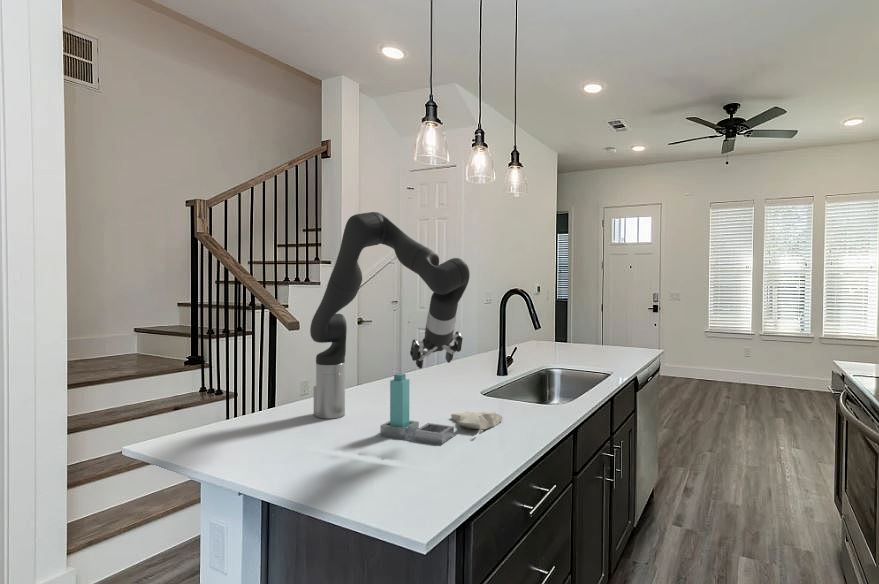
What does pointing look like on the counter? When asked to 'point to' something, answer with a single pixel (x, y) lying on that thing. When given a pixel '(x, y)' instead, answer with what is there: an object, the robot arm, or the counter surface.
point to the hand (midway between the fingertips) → (433, 363)
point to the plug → (399, 401)
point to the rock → (477, 419)
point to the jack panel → (418, 433)
